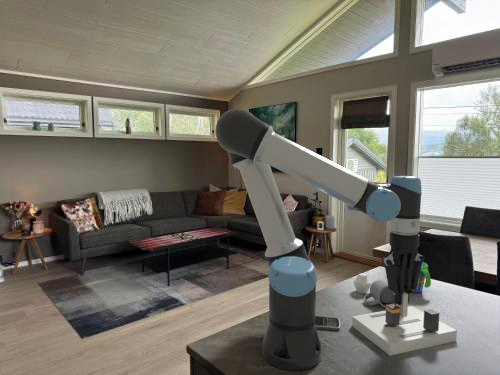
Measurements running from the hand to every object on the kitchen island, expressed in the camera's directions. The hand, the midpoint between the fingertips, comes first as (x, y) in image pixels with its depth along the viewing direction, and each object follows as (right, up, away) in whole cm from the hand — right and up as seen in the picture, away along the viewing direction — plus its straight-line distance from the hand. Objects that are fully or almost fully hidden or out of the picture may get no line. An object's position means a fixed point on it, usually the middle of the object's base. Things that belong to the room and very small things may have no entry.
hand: (401, 314), depth 97 cm
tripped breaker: (-3, -2, -1) cm, 4 cm away
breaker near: (+6, -3, -4) cm, 8 cm away
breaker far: (+2, -2, +7) cm, 8 cm away
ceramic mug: (+2, -4, +20) cm, 21 cm away
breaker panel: (0, -6, +1) cm, 6 cm away
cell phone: (-21, -6, +6) cm, 23 cm away
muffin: (-1, -3, +31) cm, 31 cm away
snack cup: (+18, -3, +33) cm, 38 cm away
